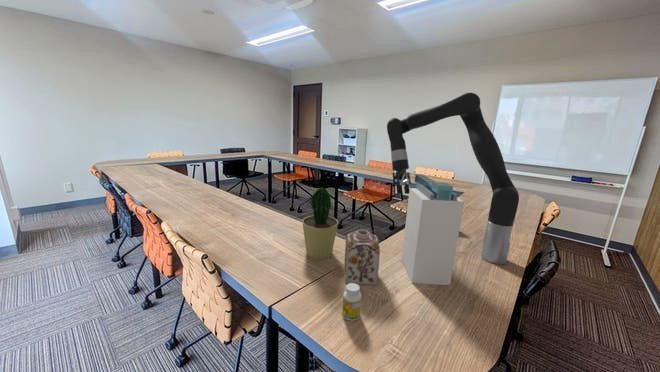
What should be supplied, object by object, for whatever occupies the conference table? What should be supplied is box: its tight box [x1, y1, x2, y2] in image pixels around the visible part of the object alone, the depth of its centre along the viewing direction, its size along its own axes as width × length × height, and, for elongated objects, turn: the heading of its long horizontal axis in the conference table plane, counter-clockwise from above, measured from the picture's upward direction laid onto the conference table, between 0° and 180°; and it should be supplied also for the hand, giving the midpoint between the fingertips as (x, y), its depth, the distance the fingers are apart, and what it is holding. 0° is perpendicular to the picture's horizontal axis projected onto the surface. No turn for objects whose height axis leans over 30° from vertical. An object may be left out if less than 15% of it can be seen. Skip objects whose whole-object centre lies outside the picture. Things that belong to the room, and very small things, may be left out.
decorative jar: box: [344, 229, 381, 286], centre depth 97 cm, size 12×12×18 cm
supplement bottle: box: [341, 283, 362, 322], centre depth 78 cm, size 5×5×10 cm
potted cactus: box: [301, 187, 339, 260], centre depth 112 cm, size 15×15×30 cm
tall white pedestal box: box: [400, 184, 465, 286], centre depth 100 cm, size 16×14×34 cm
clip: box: [414, 173, 454, 201], centre depth 101 cm, size 28×5×5 cm, turn 178°
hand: (403, 193), depth 124 cm, fingers open, 8 cm apart
